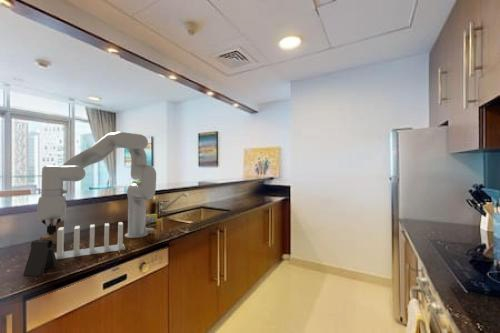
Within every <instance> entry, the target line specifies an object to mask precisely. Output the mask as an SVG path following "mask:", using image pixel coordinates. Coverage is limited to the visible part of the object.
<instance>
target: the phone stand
mask: <svg viewBox="0 0 500 333" xmlns="http://www.w3.org/2000/svg"><path fill="white" fill-rule="evenodd" d="M53 245H54V244H53V241H52V240H40V239H35V240H32V241H31V243H30V252H29V255H28V258H27V261H26V264H25V268H24V271H23V274H22V276H30V277H42V276H44V275H45V274H46V272H45V268H56V267H58V266H59V265H58V261H57V260H58V259H56V257H55V253H56V252H55V251H54V246H53ZM43 274H44V275H43ZM41 275H42V276H41Z"/></svg>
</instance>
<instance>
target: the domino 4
mask: <svg viewBox="0 0 500 333" xmlns="http://www.w3.org/2000/svg"><path fill="white" fill-rule="evenodd" d="M103 232H104V234H103V235H104V238H103V243H104V244H103V246H104V251H108V250H109V246H110V223H109V222H107V223H106V222H105V223H104V231H103Z"/></svg>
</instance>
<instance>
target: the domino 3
mask: <svg viewBox="0 0 500 333" xmlns="http://www.w3.org/2000/svg"><path fill="white" fill-rule="evenodd" d="M95 226H96V225H95V224H90V225H89V247H88V248H89V253H94V248H95V236H96V235H95V232H96V230H95V228H96V227H95Z"/></svg>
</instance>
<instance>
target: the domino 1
mask: <svg viewBox="0 0 500 333" xmlns="http://www.w3.org/2000/svg"><path fill="white" fill-rule="evenodd" d="M64 245H65V226H64V227H59V229H58V230H57V244H56V253H57V258H58V257H62V255H63V253H64V251H65V250H64V247H65V246H64Z"/></svg>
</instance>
